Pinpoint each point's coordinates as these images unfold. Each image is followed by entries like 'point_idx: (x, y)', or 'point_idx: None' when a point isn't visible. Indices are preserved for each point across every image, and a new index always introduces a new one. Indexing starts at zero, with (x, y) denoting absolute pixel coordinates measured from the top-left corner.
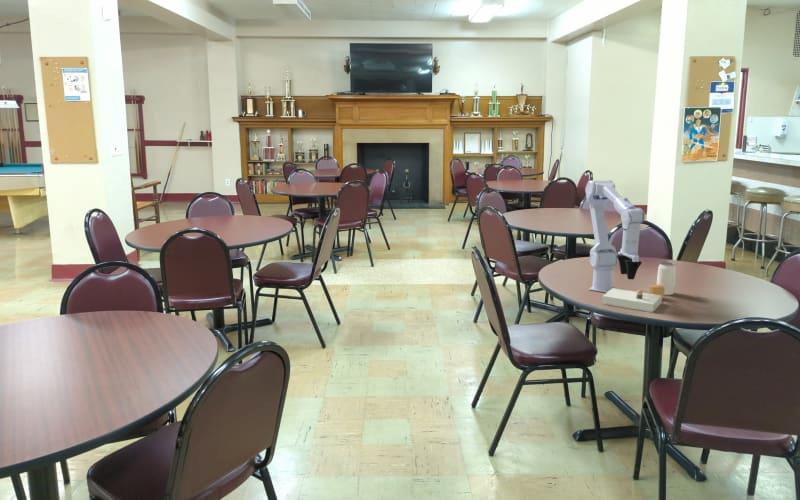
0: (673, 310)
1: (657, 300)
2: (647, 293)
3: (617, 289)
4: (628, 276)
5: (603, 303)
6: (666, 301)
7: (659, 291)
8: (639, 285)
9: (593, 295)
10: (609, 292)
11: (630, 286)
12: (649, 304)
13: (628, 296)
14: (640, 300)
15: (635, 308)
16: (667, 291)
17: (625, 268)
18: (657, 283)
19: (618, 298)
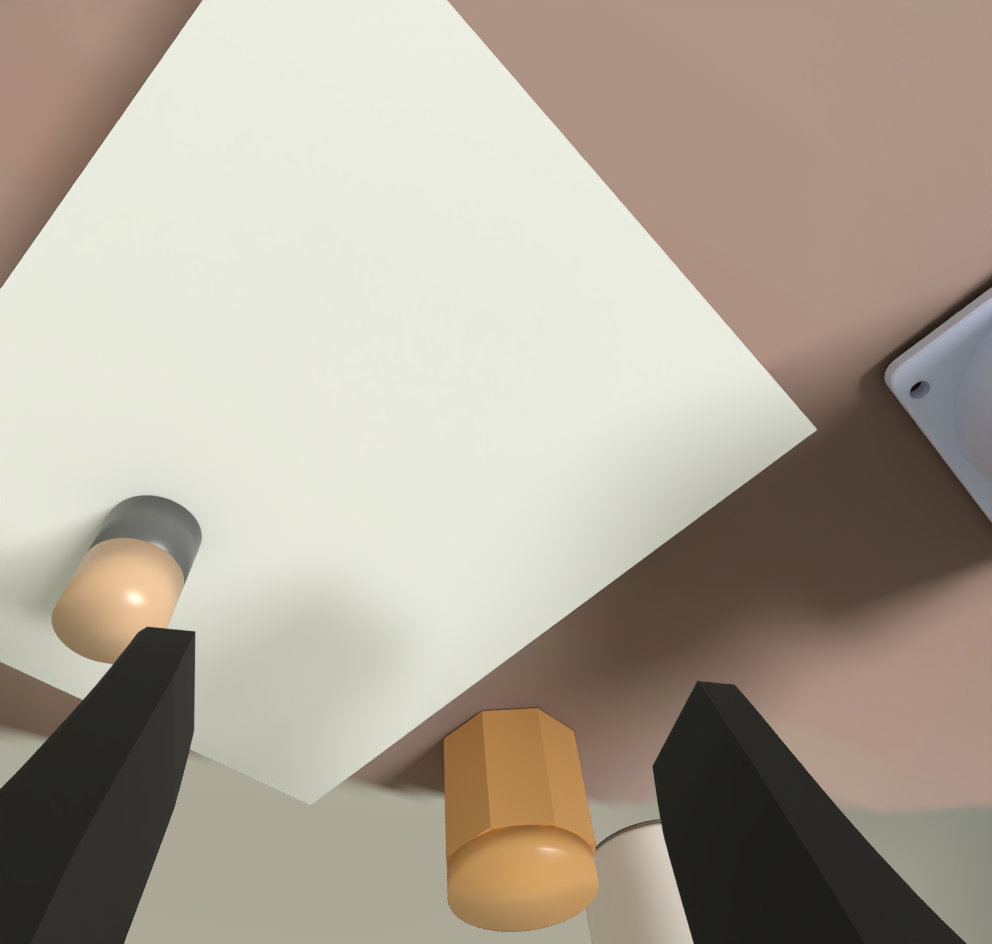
0: (42, 721)
1: (86, 695)
2: (417, 716)
3: (710, 454)
4: (99, 686)
5: None
6: (390, 783)
7: (446, 838)
8: (963, 791)
9: (893, 38)
10: (567, 210)
11: (983, 718)
12: None
13: (260, 422)
14: (8, 491)
15: None
16: None
17: (720, 883)
18: None
19: (96, 159)
